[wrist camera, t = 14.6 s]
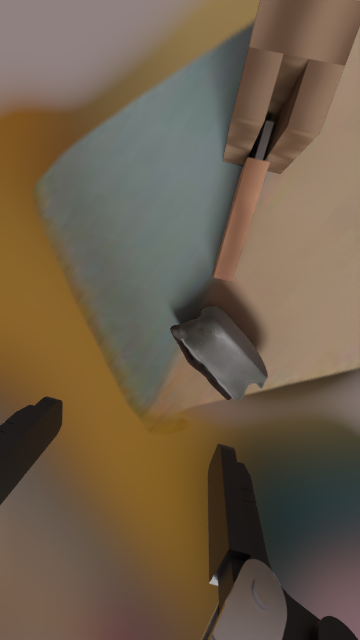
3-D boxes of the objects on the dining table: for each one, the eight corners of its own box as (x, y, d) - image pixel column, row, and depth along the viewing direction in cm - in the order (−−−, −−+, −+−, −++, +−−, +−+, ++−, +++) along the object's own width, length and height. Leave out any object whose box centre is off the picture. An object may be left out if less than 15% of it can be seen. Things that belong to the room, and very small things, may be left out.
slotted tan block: (305, 97, 27) (368, 2, 17) (280, 173, 30) (320, 133, 20) (241, 84, 28) (264, -17, 17) (222, 161, 31) (232, 114, 20)
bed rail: (269, 144, 29) (282, 123, 25) (228, 278, 36) (232, 281, 31) (249, 140, 29) (258, 118, 25) (212, 274, 36) (213, 277, 31)
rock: (165, 328, 41) (157, 345, 33) (208, 292, 37) (209, 302, 30) (223, 387, 44) (227, 414, 36) (266, 358, 41) (280, 382, 33)
